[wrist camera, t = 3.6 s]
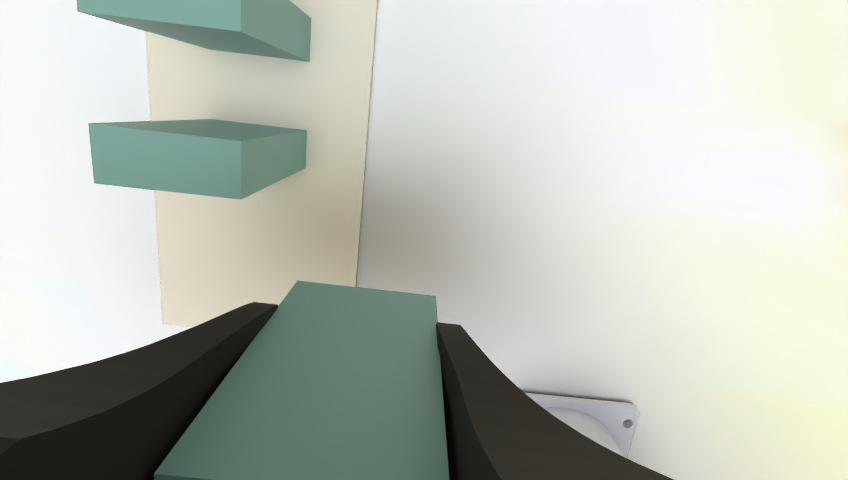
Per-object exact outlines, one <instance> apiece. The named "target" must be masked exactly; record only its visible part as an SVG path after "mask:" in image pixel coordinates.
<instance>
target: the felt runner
mask: <svg viewBox="0 0 848 480" xmlns="http://www.w3.org/2000/svg"><path fill="white" fill-rule="evenodd" d="M290 1H291V2H292V3H293V4H295V5H296V6H297V7H298V8H299V9H301V10H302V11H303V12H304V13H305V14H307V15H308V16H309V17H310V18H311V41H310V62H307V61H299V60H290V59H282V58H274V57H266V56H258V55H250V54H242V53H234V52H226V51H218V50H210V49H206V48H203V47H199V46H196V45H192V44H189V43H185V42H182V41H179V40H175V39H172V38H168V37H165V36H161V35H158V34H154V33H151V32H147V31H146V48H147V65H148V82H149V99H150V116H151V121H169V120H196V119H216V120H224V121H233V122H241V123H250V124H258V125H267V126H275V127H283V128H292V129H300V130H307V143H306V168H305V169H303V170H301V171H299V172H297V173H295V174H293V175H291V176H289V177H287V178H284V179H282V180H280V181H278V182H276V183H274V184H272V185H270V186H268V187H266V188H264V189H262V190H260V191H258V192H256V193H254V194H252V195H250V196H248V197H246V198H244V199H241V200H240V199H231V198H222V197H213V196H204V195H195V194H186V193H177V192H168V191H159V190H155V203H156V220H157V237H158V254H159V272H160V289H161V306H162V323H163V324H169V325H179V326H189V327H195V326H197V325H200V324H202V323H204V322H206V321H209V320H211V319H213V318H215V317H218V316H220V315H222V314H224V313H227V312H229V311H231V310H234V309H236V308H238V307H241V306H243V305H246V304H249V303H252V302H259V303H268V304H277V305H278V306H279V304H280V303H281V302H282V300H283V299H284V298H285V296H286V295H287V294H288V292H289V291H290V290H291V288H292V287H293V286H294V284H295V283H296V282H297V280H298V281H307V282H315V283H324V284H333V285H341V286H350V287H356V275H357V262H358V249H359V236H360V223H361V210H362V197H363V184H364V171H365V158H366V145H367V132H368V119H369V106H370V93H371V80H372V67H373V54H374V41H375V28H376V15H377V2H378V0H290Z"/></svg>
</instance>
